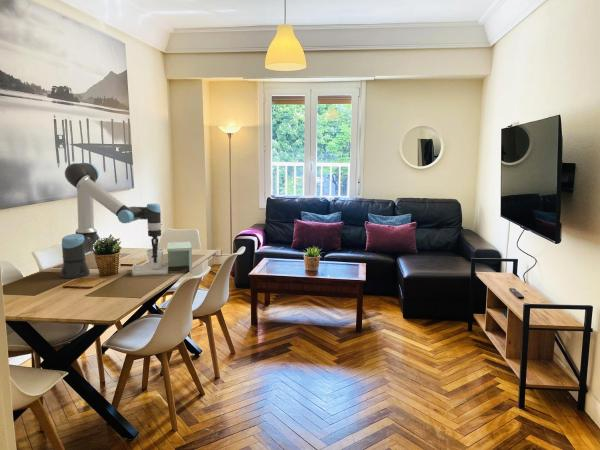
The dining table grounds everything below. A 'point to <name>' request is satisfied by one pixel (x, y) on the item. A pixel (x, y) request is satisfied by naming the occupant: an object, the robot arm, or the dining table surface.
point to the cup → (159, 254)
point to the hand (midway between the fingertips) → (155, 265)
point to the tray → (148, 270)
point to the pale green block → (180, 254)
